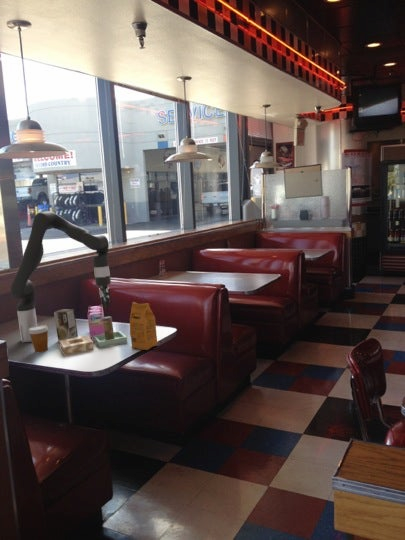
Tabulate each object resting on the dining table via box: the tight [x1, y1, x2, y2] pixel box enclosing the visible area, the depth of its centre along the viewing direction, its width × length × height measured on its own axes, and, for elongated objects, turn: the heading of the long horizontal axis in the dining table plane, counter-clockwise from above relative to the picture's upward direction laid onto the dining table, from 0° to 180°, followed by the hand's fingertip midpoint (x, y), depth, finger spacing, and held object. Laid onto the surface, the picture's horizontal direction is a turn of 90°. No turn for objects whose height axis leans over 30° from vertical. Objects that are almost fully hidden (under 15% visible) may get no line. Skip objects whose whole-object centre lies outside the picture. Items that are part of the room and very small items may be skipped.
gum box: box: [87, 303, 105, 340], centre depth 274 cm, size 24×8×14 cm, turn 11°
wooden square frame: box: [59, 335, 95, 356], centre depth 248 cm, size 14×14×4 cm
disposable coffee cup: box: [28, 324, 49, 353], centre depth 250 cm, size 10×10×12 cm
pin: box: [102, 316, 115, 341], centre depth 254 cm, size 5×5×12 cm
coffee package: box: [129, 301, 159, 351], centre depth 239 cm, size 10×12×22 cm
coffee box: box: [53, 308, 79, 342], centre depth 265 cm, size 9×6×16 cm
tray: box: [93, 330, 128, 349], centre depth 254 cm, size 14×14×3 cm
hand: (106, 306), depth 252 cm, fingers open, 8 cm apart
